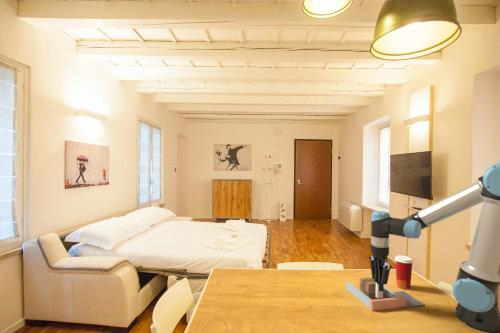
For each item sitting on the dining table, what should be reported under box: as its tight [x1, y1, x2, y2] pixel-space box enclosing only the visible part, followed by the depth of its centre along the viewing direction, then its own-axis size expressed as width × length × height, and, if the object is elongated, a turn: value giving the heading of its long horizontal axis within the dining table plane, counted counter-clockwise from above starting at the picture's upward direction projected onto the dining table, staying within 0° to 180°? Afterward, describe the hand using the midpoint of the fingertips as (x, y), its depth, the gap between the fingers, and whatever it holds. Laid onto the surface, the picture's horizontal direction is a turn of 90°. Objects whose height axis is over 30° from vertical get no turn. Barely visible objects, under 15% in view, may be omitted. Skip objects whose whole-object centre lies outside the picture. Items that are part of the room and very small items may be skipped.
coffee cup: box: [394, 255, 414, 290], centre depth 142 cm, size 8×8×15 cm
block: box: [359, 276, 378, 300], centre depth 133 cm, size 7×7×7 cm
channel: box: [345, 281, 406, 312], centre depth 130 cm, size 22×16×4 cm
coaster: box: [383, 290, 425, 309], centre depth 128 cm, size 13×13×1 cm
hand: (379, 297), depth 126 cm, fingers closed
